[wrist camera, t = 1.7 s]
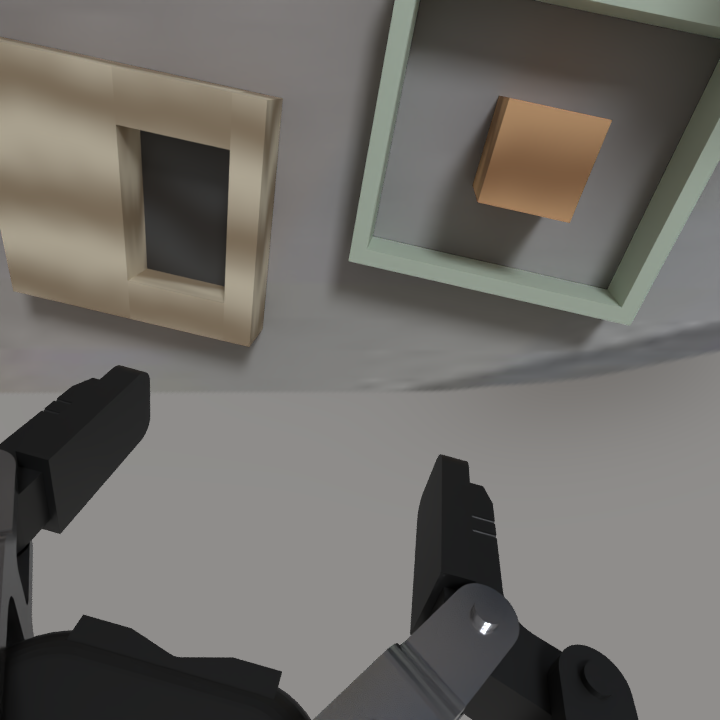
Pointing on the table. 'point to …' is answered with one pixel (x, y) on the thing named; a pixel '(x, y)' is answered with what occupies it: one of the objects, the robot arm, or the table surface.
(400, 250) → the pale green shallow tray
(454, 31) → the table surface
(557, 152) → the cube
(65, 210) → the hole board
